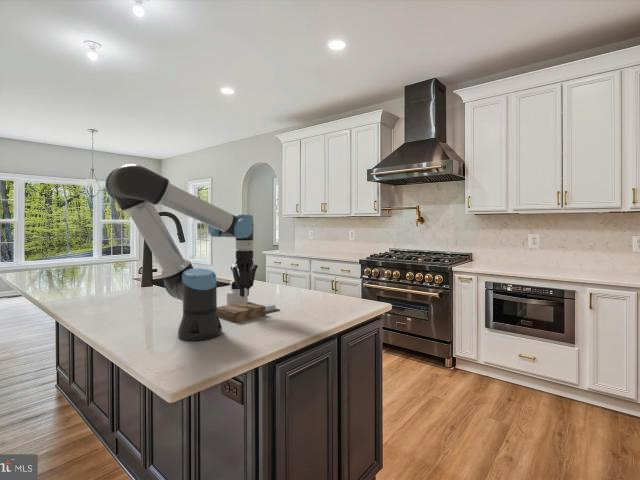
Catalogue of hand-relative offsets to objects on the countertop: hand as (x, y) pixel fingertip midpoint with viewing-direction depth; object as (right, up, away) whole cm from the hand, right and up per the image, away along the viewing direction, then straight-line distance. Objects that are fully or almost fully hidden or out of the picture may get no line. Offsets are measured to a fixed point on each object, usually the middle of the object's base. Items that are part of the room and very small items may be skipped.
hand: (244, 303), depth 158 cm
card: (+7, -4, +8) cm, 12 cm away
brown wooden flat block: (-1, -5, -1) cm, 5 cm away
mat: (+8, -5, +8) cm, 12 cm away
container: (-6, -5, +14) cm, 16 cm away
